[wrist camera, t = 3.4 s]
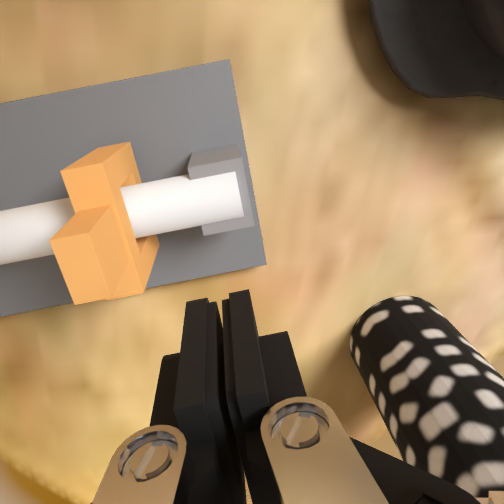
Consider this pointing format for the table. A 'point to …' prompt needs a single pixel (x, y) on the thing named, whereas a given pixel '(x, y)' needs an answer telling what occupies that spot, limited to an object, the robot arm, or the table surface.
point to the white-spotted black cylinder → (433, 393)
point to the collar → (102, 229)
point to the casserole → (443, 45)
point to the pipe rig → (135, 196)
